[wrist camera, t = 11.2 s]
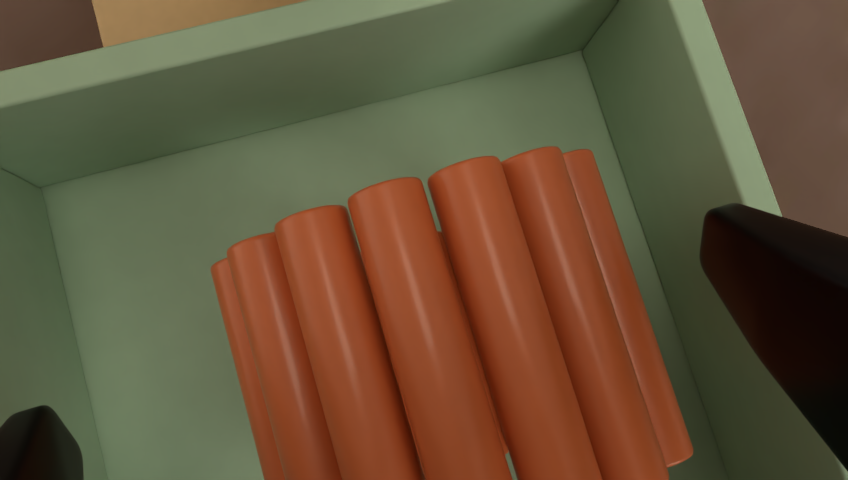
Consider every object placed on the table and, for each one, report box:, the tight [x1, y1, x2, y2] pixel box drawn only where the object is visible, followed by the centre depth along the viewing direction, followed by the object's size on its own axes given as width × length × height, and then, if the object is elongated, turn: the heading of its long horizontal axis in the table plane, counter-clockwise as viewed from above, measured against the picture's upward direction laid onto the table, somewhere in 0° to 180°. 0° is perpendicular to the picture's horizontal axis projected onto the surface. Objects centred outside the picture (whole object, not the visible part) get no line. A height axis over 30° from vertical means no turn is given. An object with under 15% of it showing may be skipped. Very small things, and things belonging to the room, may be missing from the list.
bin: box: [0, 0, 848, 480], centre depth 13 cm, size 13×13×4 cm
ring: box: [210, 146, 693, 480], centre depth 11 cm, size 5×6×6 cm
